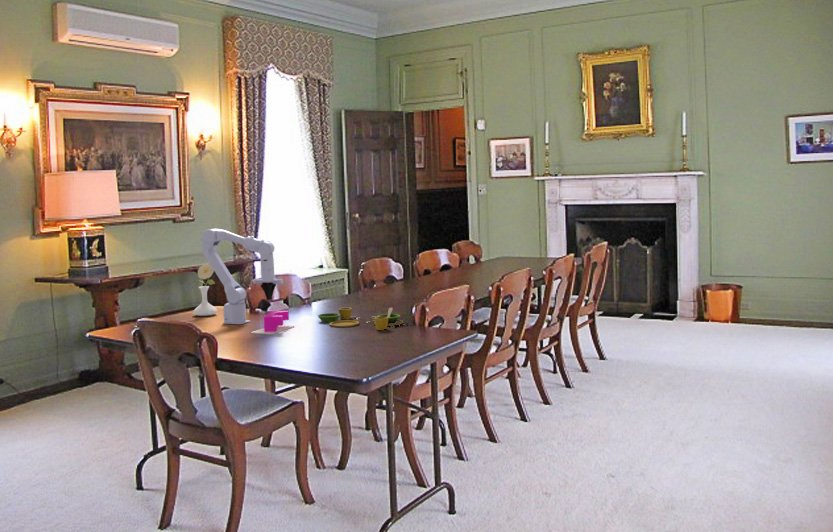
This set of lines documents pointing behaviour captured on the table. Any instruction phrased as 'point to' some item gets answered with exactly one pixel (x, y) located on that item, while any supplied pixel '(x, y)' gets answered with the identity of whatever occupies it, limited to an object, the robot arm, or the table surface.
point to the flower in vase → (205, 292)
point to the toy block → (274, 320)
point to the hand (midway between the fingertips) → (269, 299)
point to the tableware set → (345, 313)
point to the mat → (279, 329)
